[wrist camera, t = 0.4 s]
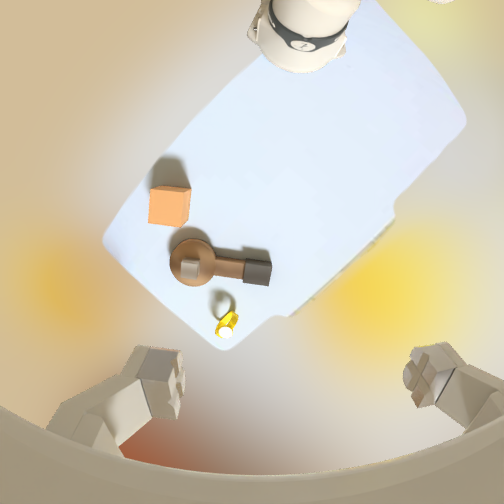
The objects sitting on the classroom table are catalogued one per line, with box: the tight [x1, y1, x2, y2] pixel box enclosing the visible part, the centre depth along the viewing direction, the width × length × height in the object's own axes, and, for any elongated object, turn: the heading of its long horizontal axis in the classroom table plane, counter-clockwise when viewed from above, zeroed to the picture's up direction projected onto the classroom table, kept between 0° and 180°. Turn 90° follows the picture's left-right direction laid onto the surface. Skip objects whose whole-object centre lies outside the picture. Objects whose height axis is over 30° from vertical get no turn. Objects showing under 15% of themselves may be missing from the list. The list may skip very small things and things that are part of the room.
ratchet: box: [170, 239, 272, 286], centre depth 53 cm, size 9×20×6 cm, turn 81°
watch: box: [215, 311, 238, 338], centre depth 57 cm, size 6×3×6 cm, turn 138°
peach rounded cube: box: [148, 185, 191, 228], centre depth 49 cm, size 6×6×6 cm
